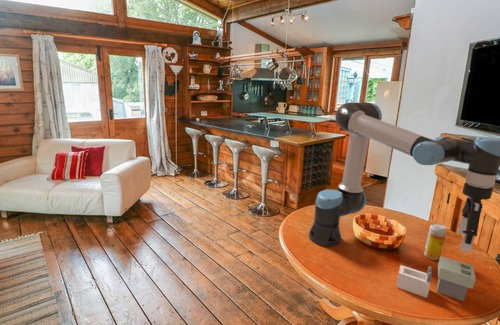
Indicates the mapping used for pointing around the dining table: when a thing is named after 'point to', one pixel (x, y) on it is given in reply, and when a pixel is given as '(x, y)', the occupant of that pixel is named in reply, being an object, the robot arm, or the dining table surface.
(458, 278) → the grey block
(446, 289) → the block
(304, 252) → the dining table surface
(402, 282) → the white open box
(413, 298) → the dining table surface
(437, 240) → the yellow labelled bottle
